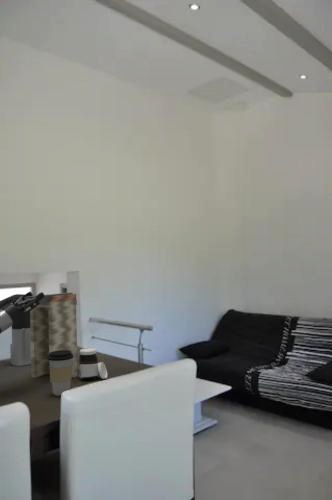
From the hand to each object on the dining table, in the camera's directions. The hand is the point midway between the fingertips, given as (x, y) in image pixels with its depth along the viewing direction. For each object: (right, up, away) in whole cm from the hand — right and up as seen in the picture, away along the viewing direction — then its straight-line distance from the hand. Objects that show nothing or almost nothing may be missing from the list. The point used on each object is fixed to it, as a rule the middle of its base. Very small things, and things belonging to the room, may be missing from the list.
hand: (37, 293), depth 171 cm
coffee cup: (+13, -35, -14) cm, 40 cm away
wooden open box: (+4, -36, +9) cm, 37 cm away
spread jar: (+22, -36, +5) cm, 42 cm away
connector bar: (+4, -4, +4) cm, 7 cm away
